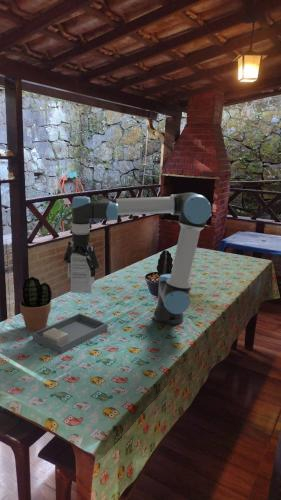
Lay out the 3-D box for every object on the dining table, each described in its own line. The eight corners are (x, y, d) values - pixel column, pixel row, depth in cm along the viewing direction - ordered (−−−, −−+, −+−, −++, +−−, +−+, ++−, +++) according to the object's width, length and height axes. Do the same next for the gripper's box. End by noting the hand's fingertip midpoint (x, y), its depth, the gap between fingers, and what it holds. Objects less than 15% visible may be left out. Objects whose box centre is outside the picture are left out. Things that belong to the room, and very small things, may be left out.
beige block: (68, 342, 156) (68, 334, 155) (57, 348, 151) (57, 339, 150) (54, 336, 161) (54, 327, 160) (43, 341, 156) (43, 332, 155)
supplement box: (73, 285, 169) (73, 250, 165) (93, 285, 170) (93, 250, 166) (70, 292, 160) (70, 255, 156) (91, 293, 160) (92, 256, 156)
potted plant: (35, 338, 161) (33, 284, 154) (14, 329, 167) (12, 277, 161) (57, 327, 172) (56, 276, 166) (37, 319, 179) (35, 270, 173)
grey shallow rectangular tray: (107, 331, 169) (107, 323, 168) (61, 355, 147) (61, 346, 146) (79, 320, 180) (79, 312, 179) (32, 341, 157) (32, 333, 156)
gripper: (108, 236, 153) (106, 284, 159) (68, 227, 168) (68, 272, 173) (95, 238, 148) (94, 288, 153) (55, 229, 162) (55, 275, 167)
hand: (80, 279), depth 163 cm, fingers closed on supplement box, 13 cm apart
